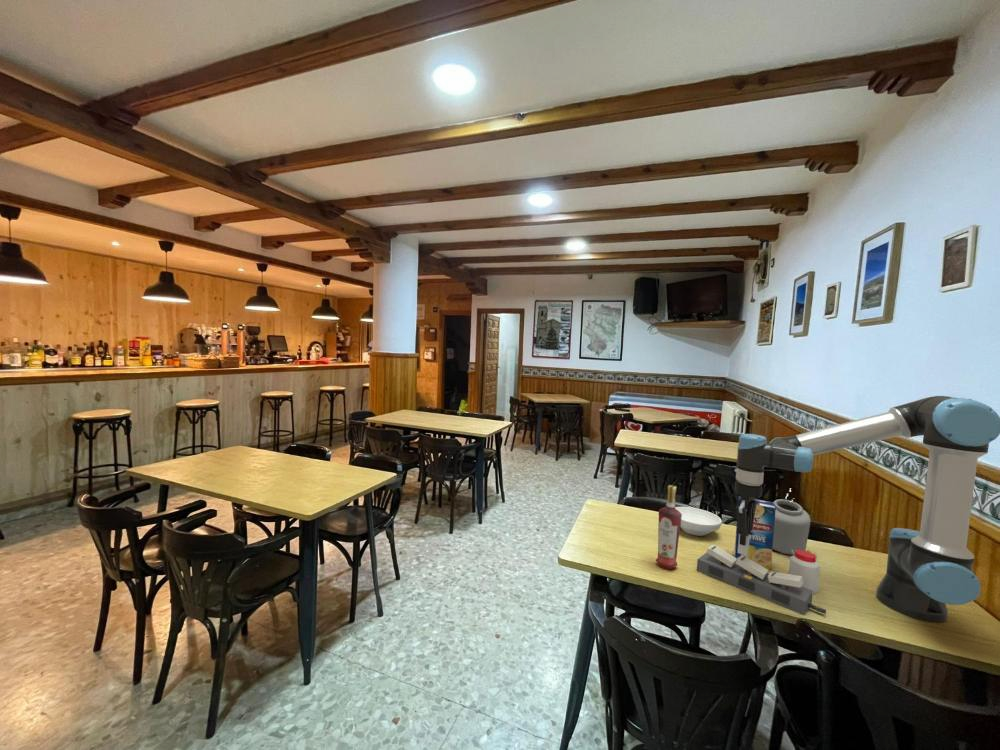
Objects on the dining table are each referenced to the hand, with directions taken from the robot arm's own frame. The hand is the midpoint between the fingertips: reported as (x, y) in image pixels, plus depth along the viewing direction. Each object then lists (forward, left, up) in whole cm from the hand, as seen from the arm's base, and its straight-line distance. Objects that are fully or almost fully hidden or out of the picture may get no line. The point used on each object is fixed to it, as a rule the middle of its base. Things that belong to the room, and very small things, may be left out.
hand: (742, 553), depth 131 cm
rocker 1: (+6, 0, -3) cm, 7 cm away
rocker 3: (-12, 0, -3) cm, 12 cm away
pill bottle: (-14, -14, -10) cm, 22 cm away
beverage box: (+2, -19, -10) cm, 21 cm away
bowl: (+26, -28, -10) cm, 40 cm away
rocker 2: (-3, 0, -3) cm, 4 cm away
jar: (-3, -40, -10) cm, 41 cm away
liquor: (+20, +10, -10) cm, 24 cm away
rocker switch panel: (-5, 0, -10) cm, 11 cm away
